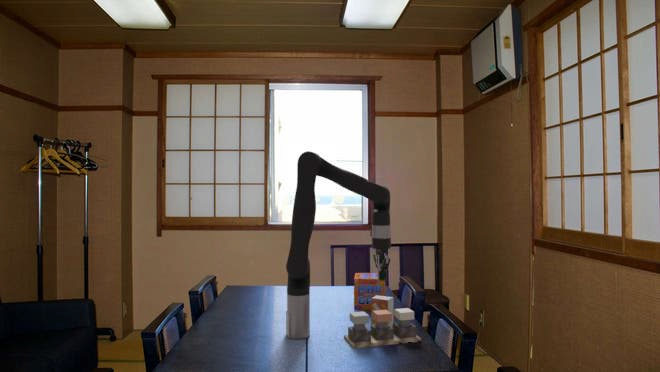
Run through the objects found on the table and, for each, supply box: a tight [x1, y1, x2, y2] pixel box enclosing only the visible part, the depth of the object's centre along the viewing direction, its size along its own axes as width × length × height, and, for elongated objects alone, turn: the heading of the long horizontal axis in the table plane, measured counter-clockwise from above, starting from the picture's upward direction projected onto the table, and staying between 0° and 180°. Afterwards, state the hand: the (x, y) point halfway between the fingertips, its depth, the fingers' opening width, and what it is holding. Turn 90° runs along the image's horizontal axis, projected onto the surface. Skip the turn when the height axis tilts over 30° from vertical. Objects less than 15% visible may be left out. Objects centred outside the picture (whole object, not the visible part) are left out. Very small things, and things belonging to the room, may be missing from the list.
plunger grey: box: [349, 310, 370, 331], centre depth 181 cm, size 6×6×7 cm
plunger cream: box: [393, 307, 415, 327], centre depth 186 cm, size 6×6×7 cm
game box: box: [353, 272, 386, 311], centre depth 235 cm, size 16×16×16 cm
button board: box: [343, 322, 422, 349], centre depth 183 cm, size 28×12×5 cm, turn 105°
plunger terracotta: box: [372, 310, 392, 329], centre depth 183 cm, size 6×6×7 cm
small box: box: [370, 295, 395, 327], centre depth 199 cm, size 8×6×13 cm
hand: (381, 280), depth 183 cm, fingers closed
